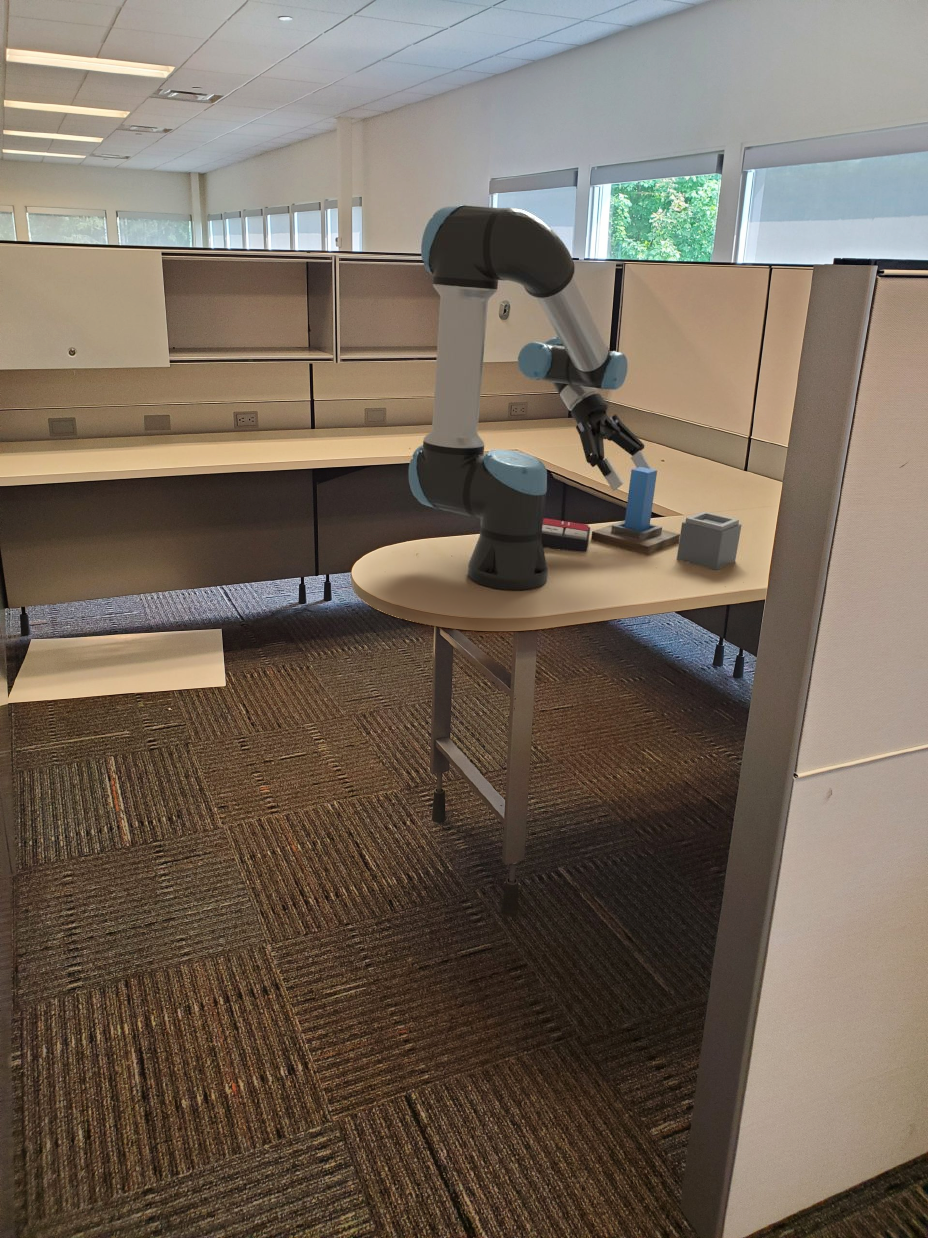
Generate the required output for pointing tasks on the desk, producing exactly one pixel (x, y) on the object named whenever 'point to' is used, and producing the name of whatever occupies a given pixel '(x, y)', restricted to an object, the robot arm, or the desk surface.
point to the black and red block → (565, 535)
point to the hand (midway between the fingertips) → (635, 482)
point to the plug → (640, 498)
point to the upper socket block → (709, 540)
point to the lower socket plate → (636, 538)
